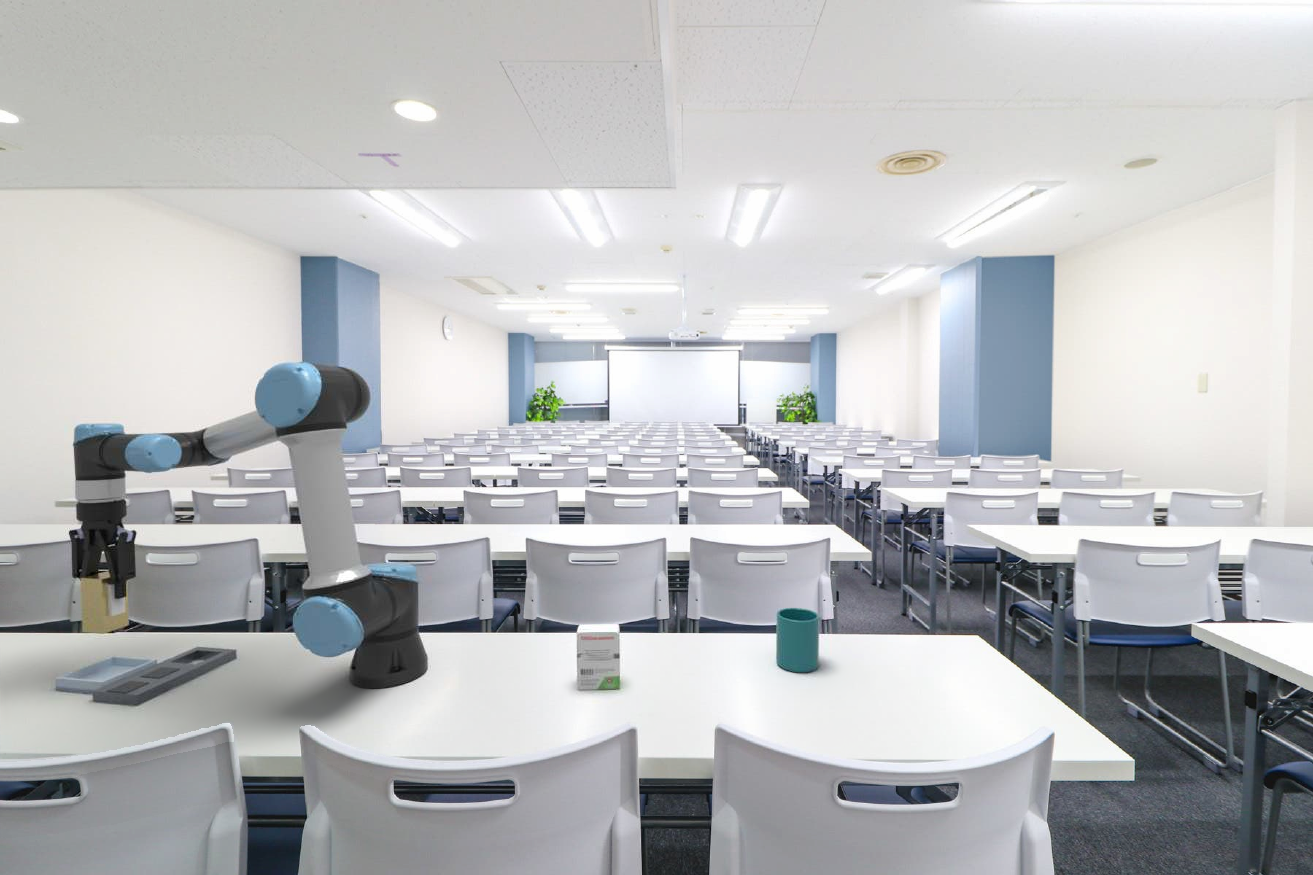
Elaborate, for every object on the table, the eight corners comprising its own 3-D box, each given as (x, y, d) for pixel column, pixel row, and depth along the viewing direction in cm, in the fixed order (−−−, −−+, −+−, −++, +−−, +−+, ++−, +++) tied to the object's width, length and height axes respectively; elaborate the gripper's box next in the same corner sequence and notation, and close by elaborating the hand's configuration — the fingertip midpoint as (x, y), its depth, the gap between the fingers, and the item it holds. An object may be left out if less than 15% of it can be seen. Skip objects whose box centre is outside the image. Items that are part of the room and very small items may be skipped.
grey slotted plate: (236, 658, 135) (236, 649, 135) (137, 705, 114) (137, 694, 113) (197, 655, 137) (197, 646, 137) (92, 701, 115) (92, 690, 115)
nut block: (128, 625, 126) (127, 572, 125) (103, 633, 121) (101, 579, 120) (108, 623, 127) (107, 571, 126) (82, 632, 122) (80, 577, 121)
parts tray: (157, 670, 129) (157, 659, 129) (102, 694, 118) (101, 682, 118) (113, 667, 130) (113, 655, 130) (55, 690, 120) (55, 678, 119)
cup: (805, 650, 140) (806, 602, 140) (824, 673, 128) (825, 620, 128) (767, 651, 140) (768, 603, 139) (782, 674, 128) (783, 621, 127)
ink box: (620, 678, 125) (620, 622, 125) (619, 689, 121) (619, 631, 120) (578, 679, 125) (578, 623, 125) (576, 690, 120) (576, 632, 120)
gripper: (157, 498, 125) (161, 609, 126) (84, 495, 128) (88, 604, 129) (119, 503, 117) (123, 622, 118) (43, 500, 120) (47, 616, 121)
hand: (105, 612), depth 124 cm, fingers closed on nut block, 5 cm apart
